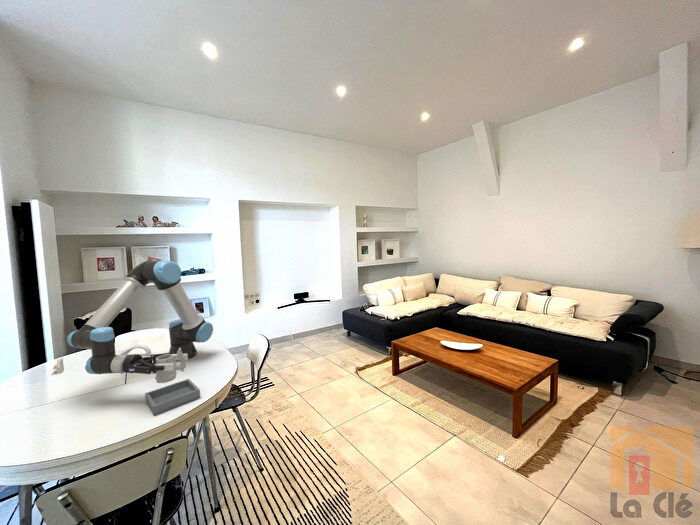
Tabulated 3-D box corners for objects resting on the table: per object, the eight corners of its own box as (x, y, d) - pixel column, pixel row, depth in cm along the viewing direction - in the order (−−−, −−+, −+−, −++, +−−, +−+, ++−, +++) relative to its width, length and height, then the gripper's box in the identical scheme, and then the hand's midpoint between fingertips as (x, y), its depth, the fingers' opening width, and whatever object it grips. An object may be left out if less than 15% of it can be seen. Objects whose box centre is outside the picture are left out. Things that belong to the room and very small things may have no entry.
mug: (153, 380, 119) (151, 352, 119) (183, 370, 128) (182, 344, 127) (158, 385, 114) (156, 357, 113) (189, 375, 123) (188, 348, 122)
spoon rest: (98, 365, 161) (97, 353, 161) (107, 358, 172) (106, 346, 172) (147, 358, 170) (146, 347, 169) (153, 351, 181) (152, 341, 180)
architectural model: (53, 376, 150) (51, 362, 150) (55, 371, 156) (54, 358, 155) (62, 374, 152) (60, 360, 152) (64, 369, 158) (63, 356, 157)
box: (189, 386, 133) (188, 378, 133) (200, 398, 123) (199, 389, 122) (145, 402, 121) (145, 393, 121) (154, 416, 110) (153, 406, 110)
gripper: (146, 361, 131) (194, 359, 132) (106, 385, 109) (164, 382, 110) (145, 345, 131) (193, 344, 131) (105, 366, 109) (163, 364, 109)
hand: (180, 361), depth 121 cm, fingers closed on mug, 10 cm apart
